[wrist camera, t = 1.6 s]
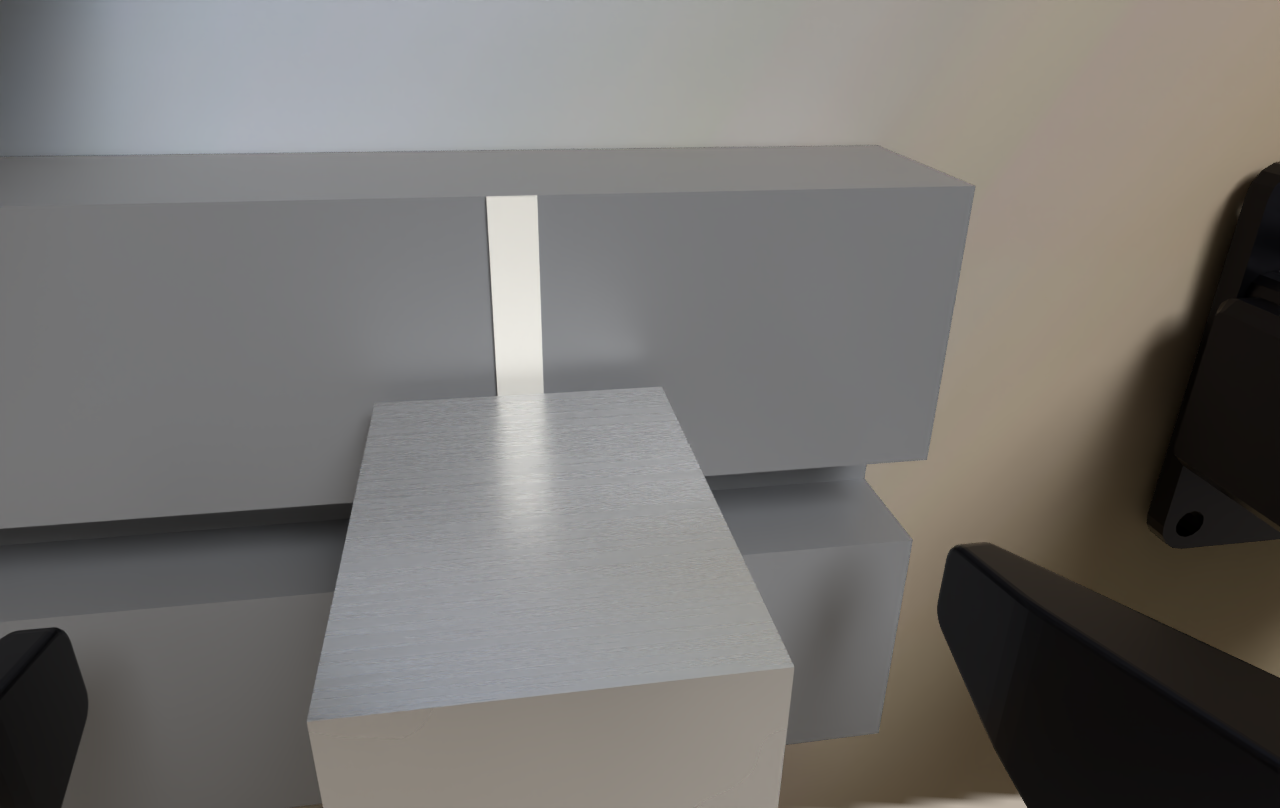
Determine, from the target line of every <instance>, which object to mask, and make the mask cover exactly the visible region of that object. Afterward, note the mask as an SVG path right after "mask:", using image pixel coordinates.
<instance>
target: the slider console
mask: <svg viewBox="0 0 1280 808" xmlns="http://www.w3.org/2000/svg"><path fill="white" fill-rule="evenodd" d="M974 191H975V186H974V185H972V184H970V183H967V182H965V181H962V180H960V179H958V178H955V177H953V176H950V175H948V174H946V173H943V172H941V171H938V170H936V169H934V168H931V167H929V166H926V165H924V164H922V163H919V162H917V161H914V160H912V159H910V158H907V157H905V156H902V155H900V154H898V153H895V152H893V151H890V150H888V149H886V148H883V147H881V146H878V145H856V146H780V147H703V148H627V149H550V150H474V151H397V152H320V153H244V154H167V155H91V156H14V157H0V639H1V638H3V637H4V636H6V635H7V634H9V633H11V632H14V631H18V630H27V629H39V628H50V627H57V628H60V629H62V630H64V631H65V632H66V633H67V635H68V636H69V638H70V641H71V643H72V646H73V649H74V652H75V656H76V659H77V662H78V665H79V668H80V671H81V674H82V677H83V680H84V683H85V686H86V689H87V693H88V700H89V708H88V716H87V720H86V724H85V727H84V731H83V735H82V738H81V742H80V745H79V749H78V752H77V756H76V759H75V763H74V766H73V770H72V773H71V777H70V780H69V784H68V787H67V791H66V794H65V798H64V801H63V805H62V808H292V807H300V806H308V805H316V804H322V799H321V794H320V789H319V784H318V778H317V773H316V768H315V763H314V758H313V752H312V747H311V742H310V737H309V732H308V726H307V718H308V713H309V708H310V704H311V699H312V694H313V690H314V685H315V680H316V676H317V671H318V666H319V662H320V657H321V652H322V648H323V643H324V638H325V633H326V629H327V624H328V619H329V615H330V610H331V605H332V601H333V596H334V591H335V587H336V582H337V577H338V573H339V568H340V563H341V559H342V554H343V549H344V545H345V540H346V535H347V530H348V526H349V521H350V516H351V512H352V507H353V502H354V498H355V493H356V488H357V484H358V479H359V474H360V470H361V465H362V460H363V456H364V451H365V446H366V442H367V437H368V432H369V428H370V423H371V418H372V413H373V409H374V404H375V403H385V402H402V401H420V400H437V399H455V398H472V397H490V396H507V395H525V394H542V393H559V392H577V391H594V390H612V389H629V388H647V387H662V388H663V390H664V393H665V395H666V397H667V399H668V401H669V403H670V405H671V407H672V409H673V412H674V414H675V416H676V418H677V420H678V422H679V424H680V426H681V428H682V431H683V433H684V435H685V437H686V439H687V441H688V443H689V445H690V447H691V450H692V452H693V454H694V456H695V458H696V460H697V462H698V464H699V466H700V469H701V471H702V473H703V475H704V477H705V479H706V481H707V483H708V485H709V488H710V490H711V492H712V494H713V496H714V498H715V500H716V502H717V504H718V507H719V509H720V511H721V513H722V515H723V517H724V519H725V521H726V523H727V526H728V528H729V530H730V532H731V534H732V536H733V538H734V540H735V542H736V545H737V547H738V549H739V551H740V553H741V555H742V557H743V559H744V561H745V564H746V566H747V568H748V570H749V572H750V574H751V576H752V578H753V580H754V583H755V585H756V587H757V589H758V591H759V593H760V595H761V597H762V599H763V602H764V604H765V606H766V608H767V610H768V612H769V614H770V616H771V618H772V621H773V623H774V625H775V627H776V629H777V631H778V633H779V635H780V638H781V640H782V642H783V644H784V646H785V648H786V650H787V652H788V654H789V657H790V659H791V661H792V663H793V665H794V676H793V684H792V693H791V701H790V710H789V718H788V727H787V735H786V744H785V745H789V744H797V743H804V742H812V741H820V740H828V739H836V738H844V737H852V736H860V735H868V734H875V733H879V727H880V722H881V716H882V710H883V705H884V699H885V693H886V688H887V682H888V676H889V671H890V665H891V660H892V654H893V648H894V643H895V637H896V631H897V626H898V620H899V614H900V609H901V603H902V597H903V592H904V586H905V581H906V575H907V569H908V564H909V558H910V552H911V547H912V541H913V540H912V538H911V537H910V536H909V535H908V533H907V532H906V531H905V530H904V528H903V527H902V526H901V525H900V523H899V522H898V521H897V519H896V518H895V517H894V516H893V514H892V513H891V512H890V511H889V509H888V508H887V507H886V505H885V504H884V503H883V502H882V500H881V499H880V498H879V497H878V495H877V494H876V493H875V492H874V490H873V489H872V488H871V486H870V485H869V484H868V483H867V481H866V480H865V479H864V478H865V471H866V464H876V463H889V462H903V461H916V460H927V456H928V451H929V445H930V439H931V434H932V428H933V422H934V417H935V411H936V406H937V400H938V394H939V389H940V383H941V377H942V372H943V366H944V360H945V355H946V349H947V343H948V338H949V332H950V327H951V321H952V315H953V310H954V304H955V298H956V293H957V287H958V281H959V276H960V270H961V264H962V259H963V253H964V247H965V242H966V236H967V231H968V225H969V219H970V214H971V208H972V202H973V197H974Z"/></svg>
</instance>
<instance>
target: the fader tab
mask: <svg viewBox="0 0 1280 808" xmlns="http://www.w3.org/2000/svg"><path fill="white" fill-rule="evenodd" d="M793 676H794V665H793V663H792V661H791V659H790V657H789V654H788V652H787V650H786V648H785V646H784V644H783V642H782V640H781V638H780V635H779V633H778V631H777V629H776V627H775V625H774V623H773V621H772V618H771V616H770V614H769V612H768V610H767V608H766V606H765V604H764V602H763V599H762V597H761V595H760V593H759V591H758V589H757V587H756V585H755V583H754V580H753V578H752V576H751V574H750V572H749V570H748V568H747V566H746V564H745V561H744V559H743V557H742V555H741V553H740V551H739V549H738V547H737V545H736V542H735V540H734V538H733V536H732V534H731V532H730V530H729V528H728V526H727V523H726V521H725V519H724V517H723V515H722V513H721V511H720V509H719V507H718V504H717V502H716V500H715V498H714V496H713V494H712V492H711V490H710V488H709V485H708V483H707V481H706V479H705V477H704V475H703V473H702V471H701V469H700V466H699V464H698V462H697V460H696V458H695V456H694V454H693V452H692V450H691V447H690V445H689V443H688V441H687V439H686V437H685V435H684V433H683V431H682V428H681V426H680V424H679V422H678V420H677V418H676V416H675V414H674V412H673V409H672V407H671V405H670V403H669V401H668V399H667V397H666V395H665V393H664V390H663V388H662V387H647V388H629V389H612V390H594V391H577V392H559V393H542V394H525V395H507V396H490V397H472V398H455V399H437V400H420V401H402V402H385V403H375V404H374V409H373V413H372V418H371V423H370V428H369V432H368V437H367V442H366V446H365V451H364V456H363V460H362V465H361V470H360V474H359V479H358V484H357V488H356V493H355V498H354V502H353V507H352V512H351V516H350V521H349V526H348V530H347V535H346V540H345V545H344V549H343V554H342V559H341V563H340V568H339V573H338V577H337V582H336V587H335V591H334V596H333V601H332V605H331V610H330V615H329V619H328V624H327V629H326V633H325V638H324V643H323V648H322V652H321V657H320V662H319V666H318V671H317V676H316V680H315V685H314V690H313V694H312V699H311V704H310V708H309V713H308V718H307V726H308V732H309V737H310V742H311V747H312V752H313V758H314V763H315V768H316V773H317V778H318V784H319V789H320V794H321V799H322V804H323V808H778V803H779V795H780V786H781V778H782V769H783V761H784V752H785V744H786V735H787V727H788V718H789V710H790V701H791V693H792V684H793Z"/></svg>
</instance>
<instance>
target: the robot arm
mask: <svg viewBox="0 0 1280 808" xmlns="http://www.w3.org/2000/svg"><path fill="white" fill-rule="evenodd" d="M1180 518H1181V519H1180ZM1147 525H1148V527H1149V529H1150V531H1151V532H1153V533H1154V534H1155V535H1156V536H1157V537H1159V538H1160V539H1161V540H1162V541H1164V542H1165V543H1166V544H1168V545H1169V546H1171V547H1172V548H1181V549H1182V548H1193V547H1203V546H1213V545H1224V544H1234V543H1244V542H1255V541H1265V540H1275V539H1280V162H1276V163H1273V164H1272V165H1270V166H1269V167H1267V168H1265V169H1264V170H1262V171H1261V172H1260V174H1259V175H1258V176H1257V177H1256V178H1255V179H1254V180H1253V182H1252V183H1251V185H1250V187H1249V190H1248V192H1247V194H1246V196H1245V199H1244V203H1243V206H1242V209H1241V212H1240V216H1239V219H1238V222H1237V225H1236V229H1235V232H1234V235H1233V238H1232V242H1231V245H1230V248H1229V251H1228V255H1227V258H1226V261H1225V264H1224V268H1223V271H1222V274H1221V277H1220V281H1219V284H1218V287H1217V290H1216V294H1215V297H1214V300H1213V303H1212V307H1211V310H1210V313H1209V316H1208V320H1207V323H1206V326H1205V329H1204V333H1203V336H1202V339H1201V342H1200V346H1199V349H1198V352H1197V355H1196V359H1195V362H1194V365H1193V368H1192V371H1191V375H1190V378H1189V381H1188V384H1187V388H1186V391H1185V394H1184V397H1183V401H1182V404H1181V407H1180V410H1179V414H1178V417H1177V420H1176V423H1175V427H1174V430H1173V433H1172V436H1171V440H1170V443H1169V446H1168V449H1167V453H1166V456H1165V459H1164V462H1163V466H1162V469H1161V472H1160V475H1159V479H1158V482H1157V485H1156V488H1155V492H1154V495H1153V498H1152V501H1151V505H1150V508H1149V511H1148V516H1147ZM937 614H938V620H939V624H940V627H941V630H942V632H943V634H944V637H945V639H946V641H947V644H948V646H949V648H950V650H951V653H952V655H953V657H954V660H955V662H956V664H957V666H958V669H959V671H960V673H961V676H962V678H963V680H964V682H965V685H966V687H967V689H968V692H969V694H970V696H971V698H972V701H973V703H974V705H975V708H976V710H977V712H978V714H979V717H980V719H981V721H982V723H983V726H984V728H985V730H986V732H987V734H988V736H989V739H990V741H991V743H992V745H993V747H994V749H995V751H996V753H997V754H998V756H999V758H1000V760H1001V762H1002V764H1003V766H1004V767H1005V769H1006V771H1007V773H1008V774H1009V776H1010V778H1011V780H1012V781H1013V783H1014V785H1015V787H1016V788H1017V790H1018V792H1019V794H1020V796H1021V797H1022V799H1023V801H1024V803H1025V804H1026V806H1027V808H1280V678H1279V677H1277V676H1275V675H1272V674H1270V673H1268V672H1266V671H1264V670H1262V669H1260V668H1257V667H1255V666H1253V665H1251V664H1249V663H1247V662H1244V661H1242V660H1240V659H1238V658H1236V657H1234V656H1232V655H1229V654H1227V653H1225V652H1223V651H1221V650H1219V649H1217V648H1214V647H1212V646H1210V645H1208V644H1206V643H1204V642H1202V641H1199V640H1197V639H1195V638H1193V637H1191V636H1189V635H1187V634H1184V633H1182V632H1180V631H1178V630H1176V629H1174V628H1172V627H1169V626H1167V625H1165V624H1163V623H1161V622H1159V621H1157V620H1154V619H1152V618H1150V617H1148V616H1146V615H1144V614H1142V613H1139V612H1137V611H1135V610H1133V609H1131V608H1129V607H1127V606H1124V605H1122V604H1120V603H1118V602H1116V601H1114V600H1112V599H1109V598H1107V597H1105V596H1103V595H1101V594H1099V593H1097V592H1094V591H1092V590H1090V589H1088V588H1086V587H1084V586H1082V585H1079V584H1077V583H1075V582H1073V581H1071V580H1069V579H1067V578H1064V577H1062V576H1060V575H1058V574H1056V573H1054V572H1051V571H1049V570H1047V569H1045V568H1043V567H1041V566H1039V565H1036V564H1034V563H1032V562H1030V561H1028V560H1026V559H1024V558H1021V557H1019V556H1017V555H1015V554H1013V553H1011V552H1009V551H1006V550H1004V549H1002V548H1000V547H998V546H996V545H994V544H991V543H986V542H983V543H972V544H961V545H956V546H954V547H953V548H952V549H951V550H950V551H949V553H948V555H947V559H946V564H945V569H944V574H943V579H942V584H941V589H940V594H939V599H938V605H937ZM88 708H89V700H88V693H87V689H86V686H85V683H84V680H83V677H82V674H81V671H80V668H79V665H78V662H77V659H76V656H75V652H74V649H73V646H72V643H71V641H70V638H69V636H68V635H67V633H66V632H65V631H64V630H62V629H60V628H57V627H50V628H39V629H27V630H18V631H14V632H11V633H9V634H7V635H6V636H4V637H3V638H1V639H0V808H62V805H63V801H64V798H65V794H66V791H67V787H68V784H69V780H70V777H71V773H72V770H73V766H74V763H75V759H76V756H77V752H78V749H79V745H80V742H81V738H82V735H83V731H84V727H85V724H86V720H87V716H88Z"/></svg>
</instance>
